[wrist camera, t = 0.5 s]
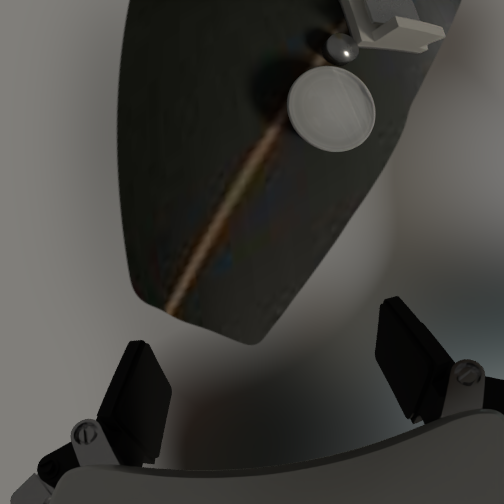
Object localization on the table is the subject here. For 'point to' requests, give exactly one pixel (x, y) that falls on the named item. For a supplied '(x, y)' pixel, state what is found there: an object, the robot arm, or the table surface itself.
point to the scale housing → (388, 30)
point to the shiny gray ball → (340, 49)
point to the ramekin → (331, 108)
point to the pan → (389, 10)
